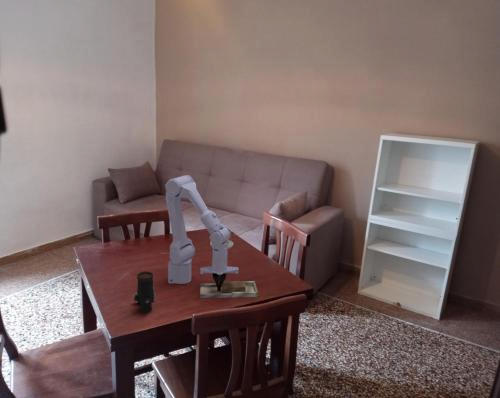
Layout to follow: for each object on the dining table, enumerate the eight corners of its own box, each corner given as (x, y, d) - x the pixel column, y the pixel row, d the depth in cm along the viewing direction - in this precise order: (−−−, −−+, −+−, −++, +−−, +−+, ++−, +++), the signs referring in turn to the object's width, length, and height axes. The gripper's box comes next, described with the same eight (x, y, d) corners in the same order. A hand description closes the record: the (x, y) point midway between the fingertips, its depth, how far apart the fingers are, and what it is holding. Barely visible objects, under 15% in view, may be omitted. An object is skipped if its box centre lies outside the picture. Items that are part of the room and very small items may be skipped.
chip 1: (222, 294, 150) (222, 287, 149) (221, 288, 154) (222, 281, 154) (233, 294, 151) (234, 287, 150) (233, 288, 155) (233, 281, 154)
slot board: (200, 299, 147) (200, 293, 146) (200, 287, 156) (200, 281, 155) (257, 298, 150) (257, 292, 149) (254, 286, 159) (254, 281, 158)
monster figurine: (219, 251, 192) (220, 231, 189) (205, 243, 200) (205, 225, 197) (238, 245, 200) (238, 227, 197) (223, 238, 208) (224, 220, 205)
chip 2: (233, 294, 151) (234, 287, 150) (233, 288, 155) (233, 281, 154) (245, 293, 151) (245, 287, 150) (244, 288, 156) (244, 281, 155)
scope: (154, 265, 142) (159, 278, 133) (154, 299, 146) (160, 313, 137) (130, 268, 139) (134, 281, 130) (132, 303, 143) (136, 317, 134)
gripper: (200, 262, 144) (200, 295, 147) (239, 262, 145) (238, 294, 149) (200, 254, 150) (200, 286, 154) (238, 254, 152) (236, 285, 156)
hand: (218, 289), depth 152 cm, fingers closed
